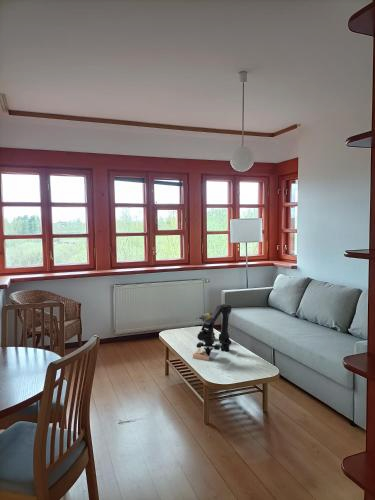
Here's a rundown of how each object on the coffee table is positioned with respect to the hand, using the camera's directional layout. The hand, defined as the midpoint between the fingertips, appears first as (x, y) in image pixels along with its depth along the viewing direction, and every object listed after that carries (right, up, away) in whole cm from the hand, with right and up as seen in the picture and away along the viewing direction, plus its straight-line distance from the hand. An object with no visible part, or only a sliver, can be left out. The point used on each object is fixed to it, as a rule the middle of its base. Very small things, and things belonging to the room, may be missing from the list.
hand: (208, 356), depth 295 cm
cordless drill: (-1, +2, +45) cm, 45 cm away
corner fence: (-4, -1, +4) cm, 6 cm away
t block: (-6, -1, +3) cm, 7 cm away
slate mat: (-2, -1, +5) cm, 6 cm away
